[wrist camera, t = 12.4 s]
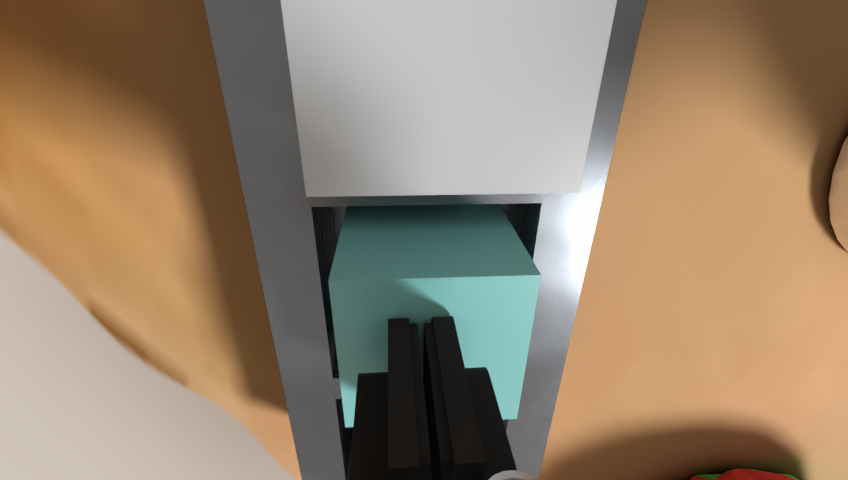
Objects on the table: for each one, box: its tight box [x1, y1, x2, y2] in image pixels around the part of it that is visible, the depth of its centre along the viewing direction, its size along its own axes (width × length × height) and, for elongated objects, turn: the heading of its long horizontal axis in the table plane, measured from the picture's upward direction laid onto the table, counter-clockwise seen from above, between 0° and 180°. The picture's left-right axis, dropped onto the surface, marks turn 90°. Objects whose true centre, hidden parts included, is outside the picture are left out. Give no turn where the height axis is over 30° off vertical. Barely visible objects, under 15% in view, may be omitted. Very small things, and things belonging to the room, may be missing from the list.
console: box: [203, 0, 647, 480], centre depth 15 cm, size 10×23×5 cm, turn 179°
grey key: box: [281, 0, 617, 197], centre depth 9 cm, size 5×5×5 cm
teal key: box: [328, 204, 541, 427], centre depth 13 cm, size 5×5×5 cm
